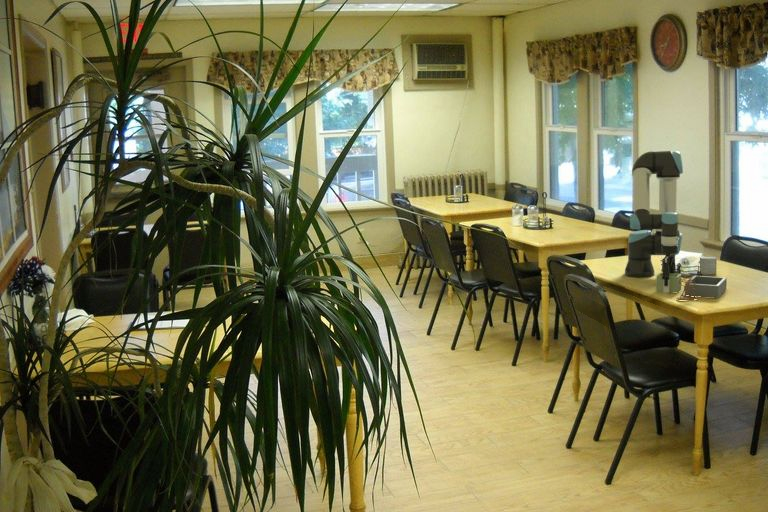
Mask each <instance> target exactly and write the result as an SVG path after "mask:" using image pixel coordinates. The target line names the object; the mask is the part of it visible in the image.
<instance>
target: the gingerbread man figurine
mask: <svg viewBox="0 0 768 512" xmlns="http://www.w3.org/2000/svg"><path fill="white" fill-rule="evenodd" d="M687 276H688V277H687ZM692 277H693V276H691V274H688V273H687V274H685V275H684V276H683V279H679V284H680V283H681V284H680V285H681V287H682V286H683V290H682V293H681V294H680V297H676V299H678V300H694V299H698V300H699V297H695V296H694V295H693V293H692V291H691V286H692V285H690V289H688V284H689V282H691V279H692ZM680 280H681V281H680ZM689 280H690V281H689ZM682 283H683V284H684V285H683V284H682ZM693 283H694V282H693ZM685 284H687V289H685ZM694 284H695V283H694ZM693 287H695V288H696V284H695V285H693V286H692V288H693ZM695 288H693V289H695ZM685 290H690V291H691V293H692V295H693V296H694V297H691V296H692V295H689V293H688V292H686V294H685ZM687 293H688V295H689V296H686V295H687ZM678 300H677V301H678Z"/></svg>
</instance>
